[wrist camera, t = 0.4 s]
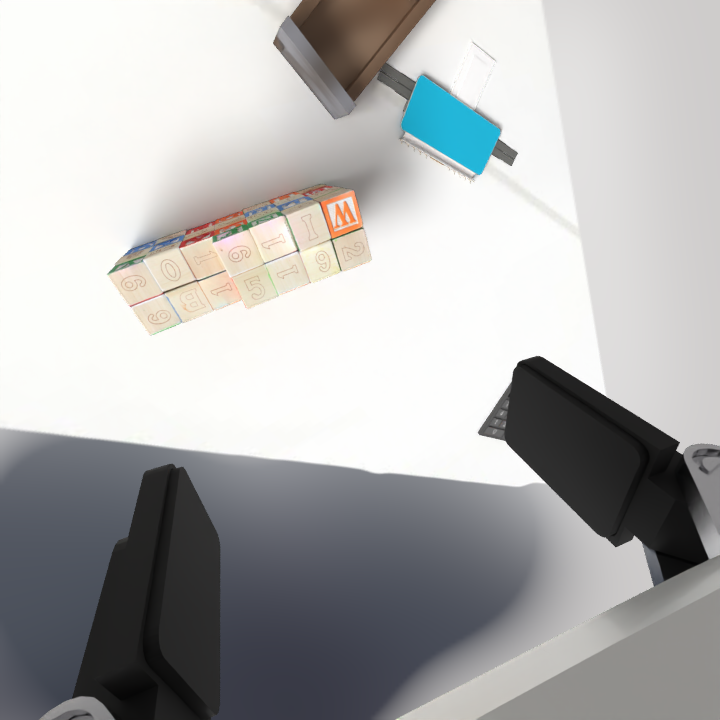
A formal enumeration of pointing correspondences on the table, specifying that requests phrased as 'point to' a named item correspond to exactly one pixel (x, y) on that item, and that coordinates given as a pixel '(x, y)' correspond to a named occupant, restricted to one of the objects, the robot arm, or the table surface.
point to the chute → (345, 44)
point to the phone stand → (450, 117)
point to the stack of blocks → (243, 257)
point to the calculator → (497, 418)
